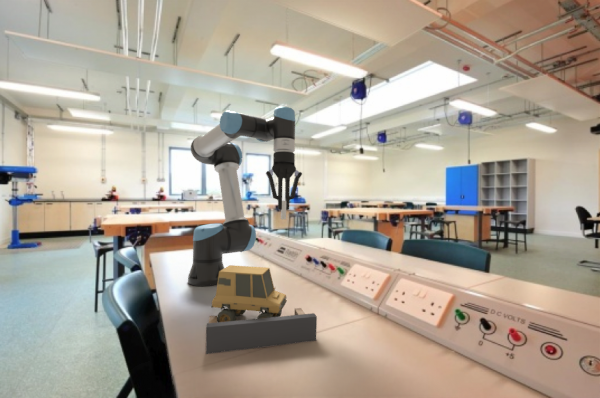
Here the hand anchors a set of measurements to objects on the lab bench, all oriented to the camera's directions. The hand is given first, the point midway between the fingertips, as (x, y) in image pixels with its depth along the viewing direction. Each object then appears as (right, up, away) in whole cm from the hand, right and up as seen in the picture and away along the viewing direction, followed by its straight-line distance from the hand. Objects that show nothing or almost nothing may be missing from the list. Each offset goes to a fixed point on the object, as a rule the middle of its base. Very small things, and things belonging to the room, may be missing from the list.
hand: (283, 218), depth 98 cm
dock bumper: (-3, -28, -32) cm, 42 cm away
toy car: (-8, -28, -20) cm, 35 cm away
